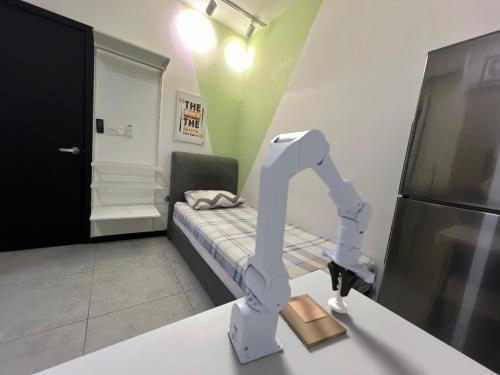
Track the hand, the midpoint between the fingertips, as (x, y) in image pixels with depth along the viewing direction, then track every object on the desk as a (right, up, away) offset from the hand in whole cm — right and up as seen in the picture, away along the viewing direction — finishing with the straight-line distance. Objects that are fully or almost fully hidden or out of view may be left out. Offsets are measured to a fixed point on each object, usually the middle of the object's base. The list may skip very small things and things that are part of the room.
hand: (339, 292), depth 54 cm
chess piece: (0, -4, +1) cm, 4 cm away
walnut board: (-10, -5, -3) cm, 11 cm away
